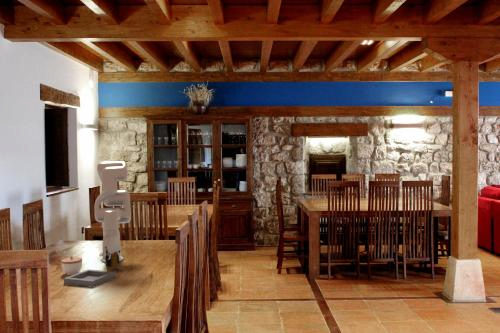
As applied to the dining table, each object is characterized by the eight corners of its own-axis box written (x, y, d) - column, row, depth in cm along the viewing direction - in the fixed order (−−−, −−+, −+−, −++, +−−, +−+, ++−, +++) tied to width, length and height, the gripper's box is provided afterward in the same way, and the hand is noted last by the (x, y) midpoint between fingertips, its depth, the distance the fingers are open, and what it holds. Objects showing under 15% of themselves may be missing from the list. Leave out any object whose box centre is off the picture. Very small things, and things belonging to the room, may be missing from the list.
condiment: (103, 270, 260) (102, 249, 260) (116, 267, 267) (115, 246, 266) (110, 273, 256) (109, 251, 255) (124, 269, 262) (123, 248, 261)
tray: (63, 284, 238) (63, 278, 238) (88, 274, 255) (88, 269, 255) (92, 287, 231) (92, 281, 231) (116, 277, 248) (115, 271, 248)
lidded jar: (86, 271, 262) (86, 254, 262) (73, 276, 252) (72, 259, 252) (70, 270, 266) (70, 253, 265) (57, 275, 256) (56, 258, 255)
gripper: (115, 229, 269) (116, 260, 270) (95, 235, 253) (96, 268, 254) (126, 230, 266) (127, 261, 267) (106, 236, 250) (108, 269, 251)
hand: (112, 264), depth 260 cm, fingers closed on condiment, 6 cm apart
